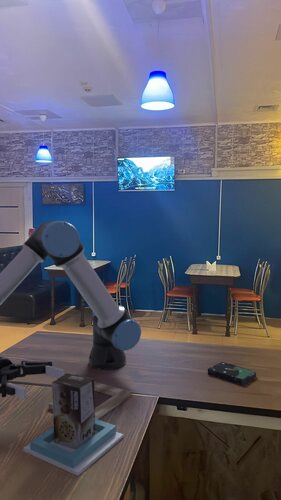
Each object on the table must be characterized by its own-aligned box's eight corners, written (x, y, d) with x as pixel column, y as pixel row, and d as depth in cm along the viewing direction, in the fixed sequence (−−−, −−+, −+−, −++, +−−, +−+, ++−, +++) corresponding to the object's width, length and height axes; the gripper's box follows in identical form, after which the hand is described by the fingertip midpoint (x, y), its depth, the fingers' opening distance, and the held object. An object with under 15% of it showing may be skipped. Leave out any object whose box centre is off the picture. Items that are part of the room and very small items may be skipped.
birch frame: (48, 408, 115) (48, 403, 115) (90, 384, 132) (90, 380, 132) (92, 423, 106) (91, 418, 106) (130, 396, 123) (130, 391, 123)
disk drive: (207, 376, 140) (243, 387, 130) (207, 368, 140) (243, 379, 130) (221, 368, 148) (256, 378, 138) (221, 361, 148) (256, 370, 138)
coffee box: (96, 438, 97) (95, 378, 96) (81, 452, 91) (80, 388, 90) (68, 430, 101) (67, 372, 100) (52, 442, 95) (51, 381, 94)
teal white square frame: (23, 450, 93) (23, 440, 93) (72, 419, 108) (72, 409, 108) (78, 476, 84) (78, 464, 84) (123, 437, 99) (123, 427, 99)
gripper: (27, 366, 122) (76, 380, 111) (-45, 397, 101) (7, 418, 90) (26, 344, 122) (76, 355, 110) (-46, 371, 100) (6, 388, 89)
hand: (45, 383), depth 100 cm, fingers open, 13 cm apart
